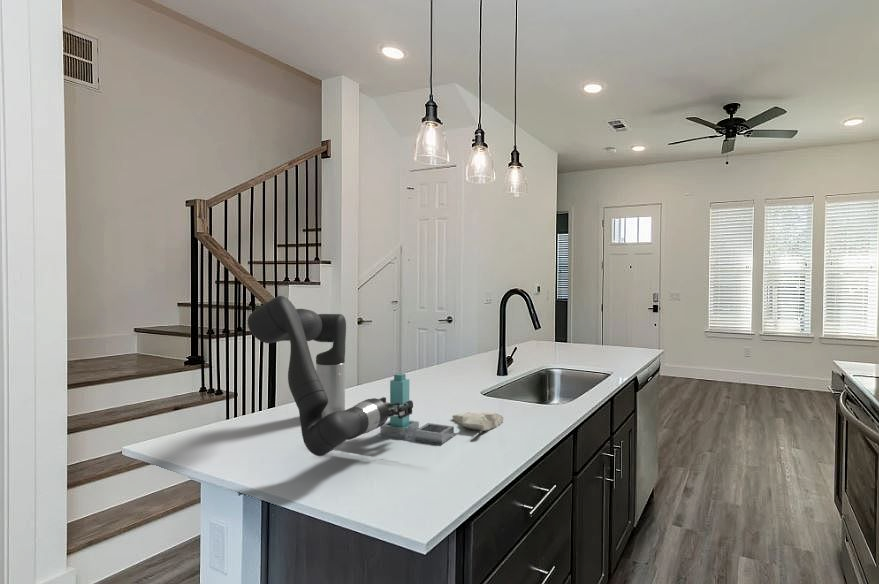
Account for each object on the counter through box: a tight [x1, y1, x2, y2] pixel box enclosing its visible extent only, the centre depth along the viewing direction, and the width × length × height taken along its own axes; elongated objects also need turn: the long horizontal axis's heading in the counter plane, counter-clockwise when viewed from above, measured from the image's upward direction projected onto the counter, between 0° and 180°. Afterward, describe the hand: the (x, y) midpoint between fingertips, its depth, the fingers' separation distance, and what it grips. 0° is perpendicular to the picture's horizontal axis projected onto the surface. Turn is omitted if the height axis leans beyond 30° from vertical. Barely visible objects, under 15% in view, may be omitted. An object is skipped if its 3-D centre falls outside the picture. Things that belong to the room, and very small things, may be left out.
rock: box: [451, 412, 505, 432], centre depth 159 cm, size 21×5×15 cm
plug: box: [389, 373, 410, 428], centre depth 148 cm, size 4×4×17 cm
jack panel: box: [375, 419, 459, 447], centre depth 146 cm, size 20×12×4 cm, turn 65°
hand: (398, 402), depth 148 cm, fingers open, 8 cm apart
